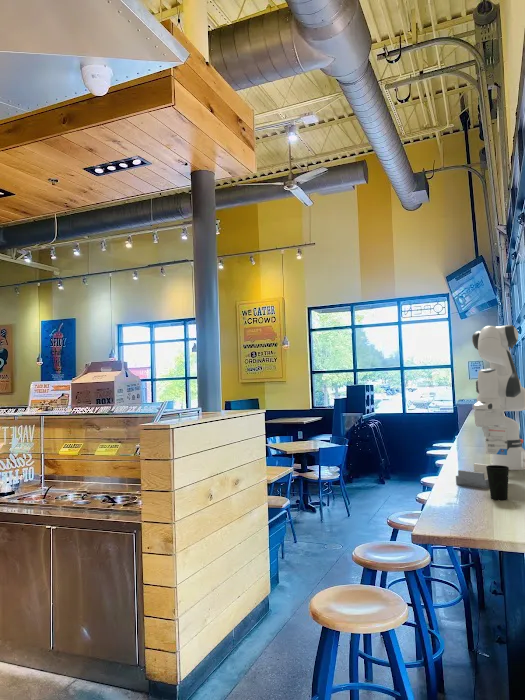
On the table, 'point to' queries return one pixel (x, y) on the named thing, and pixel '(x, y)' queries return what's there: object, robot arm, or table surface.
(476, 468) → the pusher
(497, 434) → the ink box
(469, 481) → the gray stepped block
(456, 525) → the table surface
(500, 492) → the cup
